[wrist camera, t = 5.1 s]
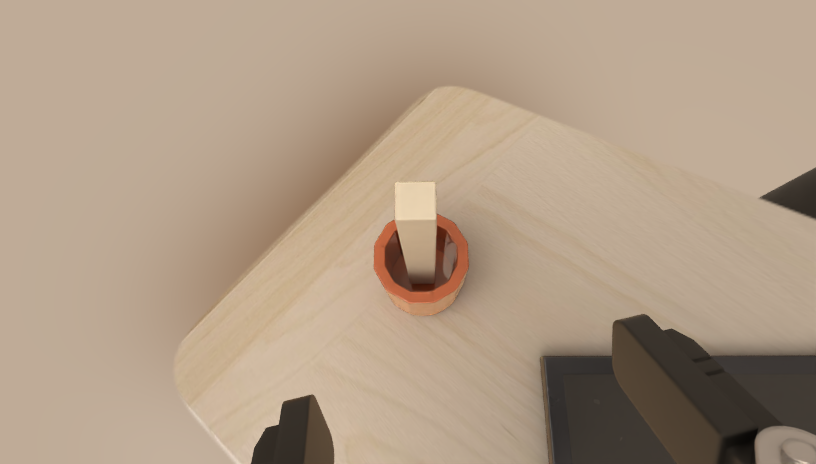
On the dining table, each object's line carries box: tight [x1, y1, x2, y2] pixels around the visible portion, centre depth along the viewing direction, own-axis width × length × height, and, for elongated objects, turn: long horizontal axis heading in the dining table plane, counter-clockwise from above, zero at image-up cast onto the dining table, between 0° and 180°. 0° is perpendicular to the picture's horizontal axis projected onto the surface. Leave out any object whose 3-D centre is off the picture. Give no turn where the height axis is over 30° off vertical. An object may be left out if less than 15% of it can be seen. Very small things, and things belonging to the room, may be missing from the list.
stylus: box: [395, 181, 437, 284], centre depth 22 cm, size 2×2×13 cm
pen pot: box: [374, 214, 469, 316], centre depth 26 cm, size 5×5×6 cm
